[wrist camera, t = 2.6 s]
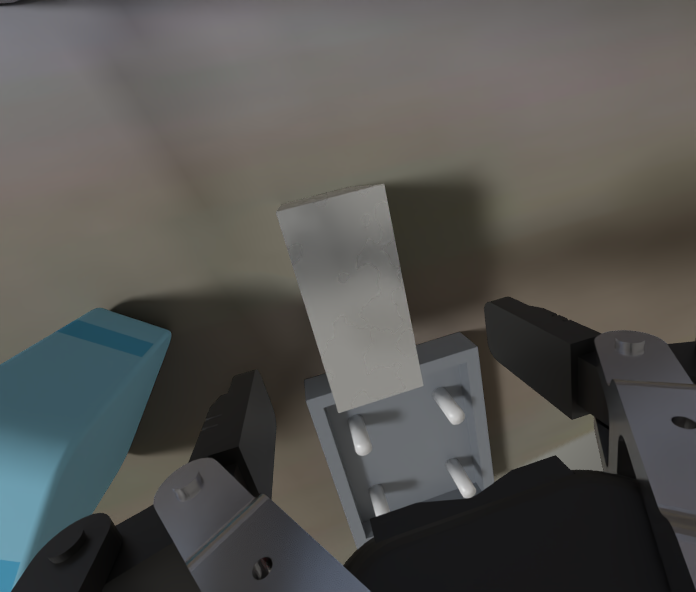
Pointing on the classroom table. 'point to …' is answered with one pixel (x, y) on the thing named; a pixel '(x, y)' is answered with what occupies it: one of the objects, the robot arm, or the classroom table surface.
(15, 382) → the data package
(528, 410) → the classroom table surface
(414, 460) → the tray
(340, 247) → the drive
